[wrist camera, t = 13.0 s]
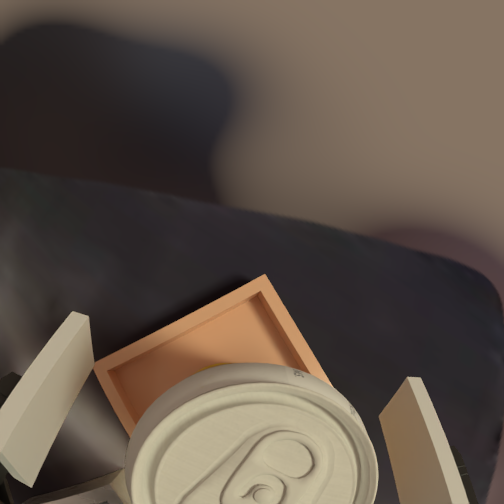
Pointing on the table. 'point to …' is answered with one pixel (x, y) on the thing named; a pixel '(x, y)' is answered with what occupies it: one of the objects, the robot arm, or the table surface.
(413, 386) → the robot arm
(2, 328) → the table surface
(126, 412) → the serving tray
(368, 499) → the beer can
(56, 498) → the frame
